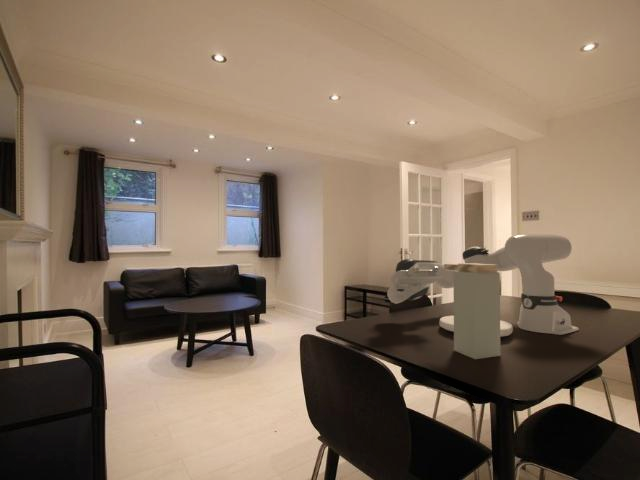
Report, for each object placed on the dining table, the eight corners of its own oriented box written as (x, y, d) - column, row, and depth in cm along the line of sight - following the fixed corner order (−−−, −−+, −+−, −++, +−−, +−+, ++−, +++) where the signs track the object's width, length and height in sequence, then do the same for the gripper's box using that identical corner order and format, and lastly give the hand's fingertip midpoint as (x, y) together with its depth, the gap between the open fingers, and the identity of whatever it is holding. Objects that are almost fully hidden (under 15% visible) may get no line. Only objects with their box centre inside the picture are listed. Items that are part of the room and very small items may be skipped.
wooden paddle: (439, 269, 118) (439, 262, 118) (455, 268, 120) (455, 261, 120) (479, 273, 100) (479, 265, 100) (497, 272, 102) (497, 264, 102)
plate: (434, 312, 148) (499, 315, 142) (434, 326, 147) (499, 330, 142) (445, 319, 120) (525, 322, 115) (445, 337, 120) (526, 342, 114)
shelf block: (478, 347, 111) (477, 270, 112) (500, 355, 103) (499, 272, 103) (454, 350, 108) (453, 271, 109) (475, 359, 100) (474, 273, 100)
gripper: (432, 288, 142) (451, 275, 131) (390, 290, 136) (407, 276, 124) (428, 275, 145) (446, 261, 134) (387, 276, 139) (402, 261, 127)
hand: (427, 268), depth 129 cm, fingers open, 8 cm apart
